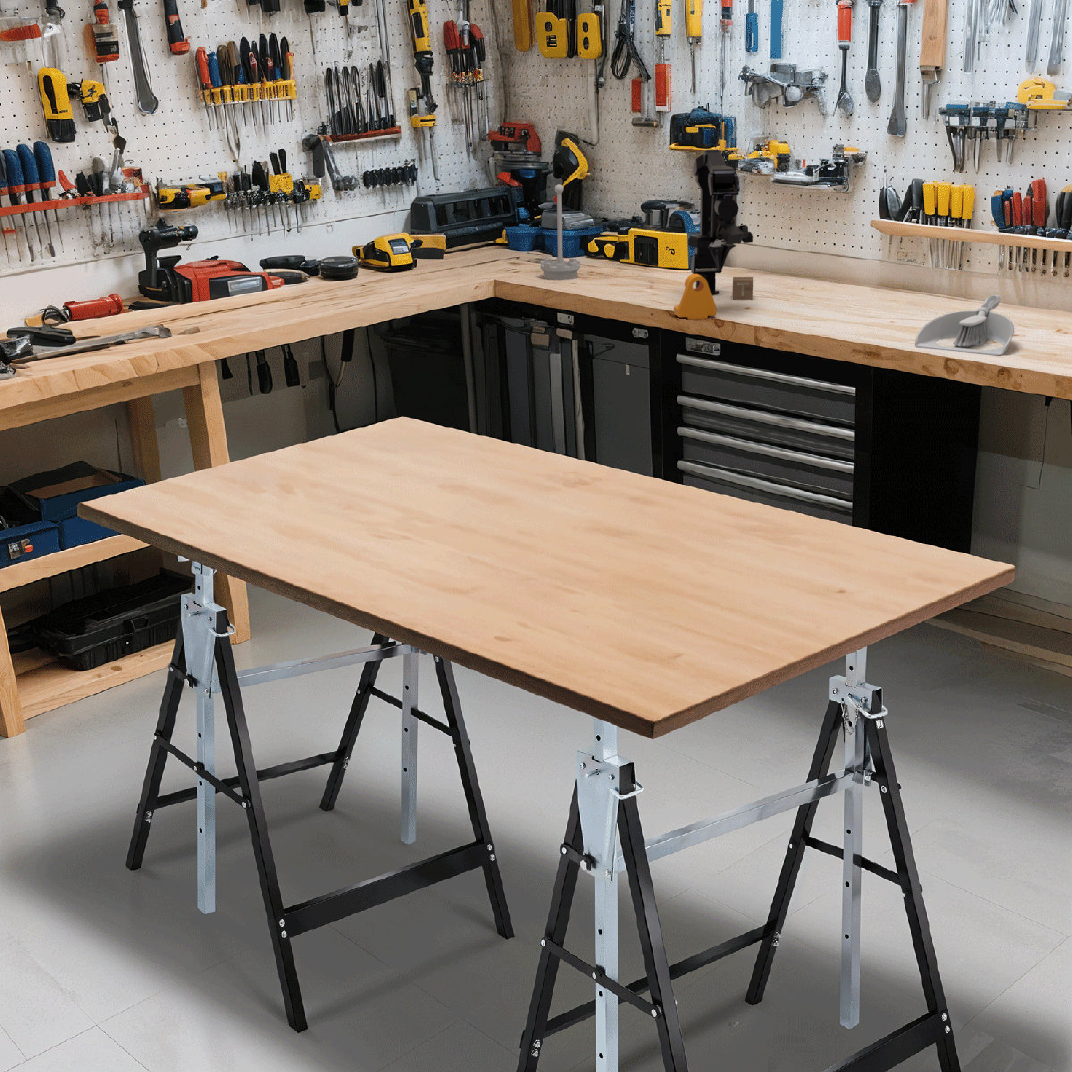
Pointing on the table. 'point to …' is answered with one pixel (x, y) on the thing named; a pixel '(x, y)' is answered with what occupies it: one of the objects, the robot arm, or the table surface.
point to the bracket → (696, 300)
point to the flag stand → (560, 250)
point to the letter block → (742, 288)
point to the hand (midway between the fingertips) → (719, 269)
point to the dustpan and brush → (969, 329)
